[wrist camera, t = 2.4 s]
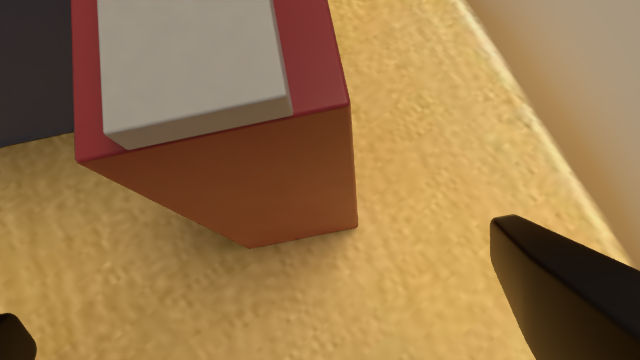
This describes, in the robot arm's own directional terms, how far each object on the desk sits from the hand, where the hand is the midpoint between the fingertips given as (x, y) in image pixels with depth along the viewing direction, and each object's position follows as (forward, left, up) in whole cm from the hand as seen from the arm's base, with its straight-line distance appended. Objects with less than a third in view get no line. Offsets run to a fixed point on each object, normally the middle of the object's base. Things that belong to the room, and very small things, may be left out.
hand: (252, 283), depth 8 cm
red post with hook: (+7, 0, -11) cm, 13 cm away
